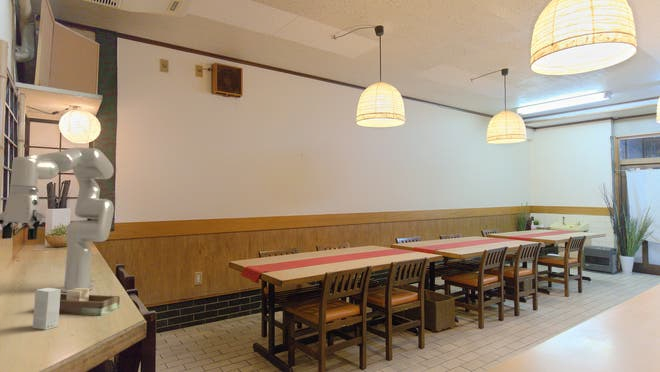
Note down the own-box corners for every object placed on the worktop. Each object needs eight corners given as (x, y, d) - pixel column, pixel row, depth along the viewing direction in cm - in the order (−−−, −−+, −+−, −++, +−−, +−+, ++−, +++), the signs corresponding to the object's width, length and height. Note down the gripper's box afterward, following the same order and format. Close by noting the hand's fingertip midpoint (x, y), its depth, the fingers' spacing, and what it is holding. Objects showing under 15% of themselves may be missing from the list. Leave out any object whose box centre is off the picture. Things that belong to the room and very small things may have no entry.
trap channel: (56, 305, 147) (57, 293, 147) (118, 308, 146) (119, 296, 146) (34, 312, 137) (35, 299, 137) (101, 315, 135) (102, 302, 135)
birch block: (75, 301, 144) (76, 288, 144) (88, 302, 144) (89, 288, 144) (65, 304, 139) (67, 290, 139) (79, 305, 139) (80, 291, 139)
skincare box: (58, 326, 122) (61, 289, 123) (44, 330, 118) (48, 291, 119) (45, 324, 124) (48, 287, 125) (31, 327, 120) (34, 289, 121)
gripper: (54, 192, 139) (50, 239, 138) (10, 191, 141) (6, 237, 140) (36, 191, 132) (32, 240, 131) (-9, 190, 133) (-14, 238, 132)
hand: (19, 239), depth 135 cm, fingers open, 9 cm apart
